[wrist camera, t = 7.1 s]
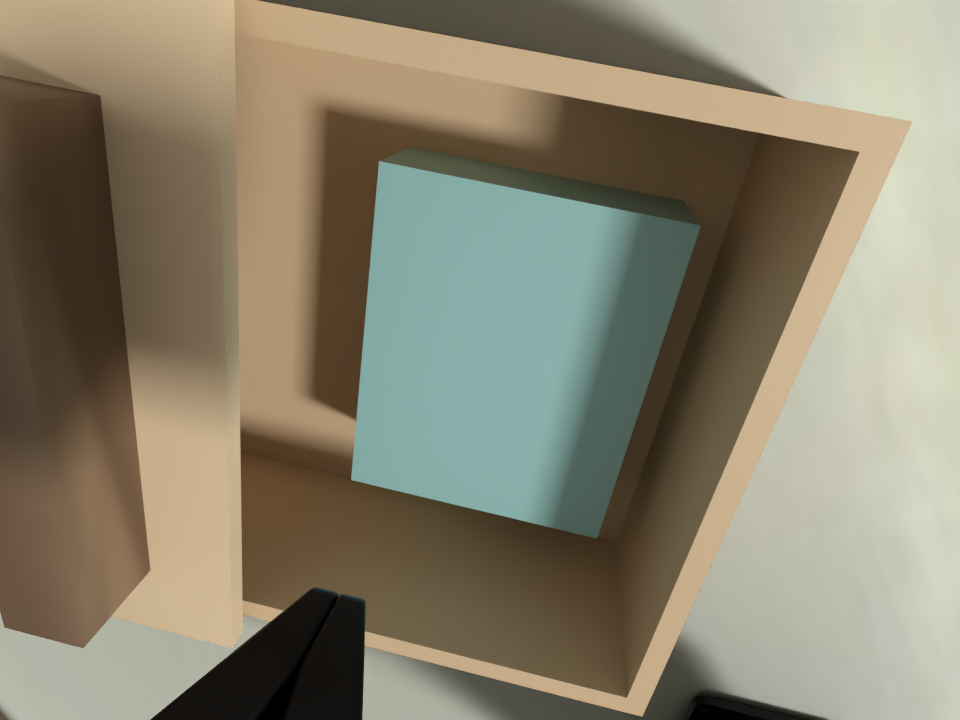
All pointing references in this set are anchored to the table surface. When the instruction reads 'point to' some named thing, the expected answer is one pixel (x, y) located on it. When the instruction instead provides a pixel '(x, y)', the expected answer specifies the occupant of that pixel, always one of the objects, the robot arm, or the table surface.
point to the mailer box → (517, 334)
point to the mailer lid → (119, 319)
